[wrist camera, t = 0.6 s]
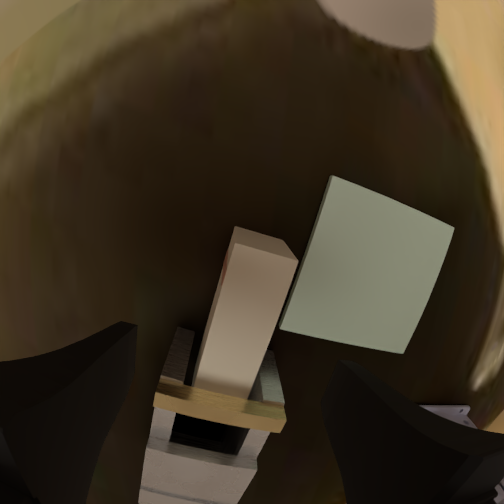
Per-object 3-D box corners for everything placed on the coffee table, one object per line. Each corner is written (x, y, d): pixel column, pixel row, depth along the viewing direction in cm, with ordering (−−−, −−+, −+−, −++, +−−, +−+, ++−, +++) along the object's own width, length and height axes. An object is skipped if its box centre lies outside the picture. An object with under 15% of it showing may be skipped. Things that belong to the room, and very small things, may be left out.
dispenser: (273, 350, 21) (288, 417, 14) (226, 460, 23) (226, 520, 17) (177, 326, 20) (156, 389, 13) (153, 443, 23) (138, 503, 16)
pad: (449, 226, 20) (454, 227, 19) (399, 350, 22) (402, 353, 21) (330, 175, 18) (332, 175, 18) (278, 324, 20) (279, 329, 20)
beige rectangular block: (283, 239, 19) (299, 261, 14) (237, 373, 21) (239, 420, 17) (234, 225, 19) (234, 242, 14) (195, 363, 21) (186, 409, 16)
